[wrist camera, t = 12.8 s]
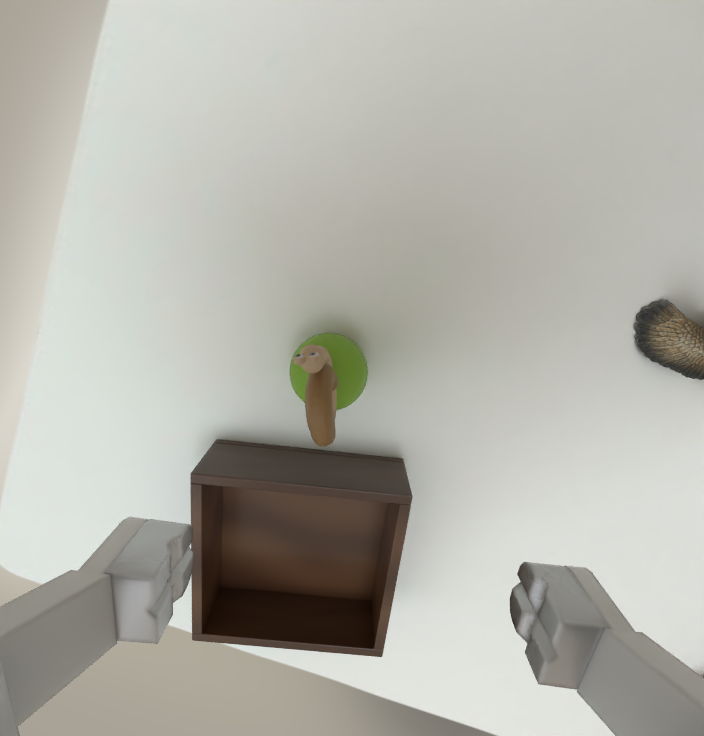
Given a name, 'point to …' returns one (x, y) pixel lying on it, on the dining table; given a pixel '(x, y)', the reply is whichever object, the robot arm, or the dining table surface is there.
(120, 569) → the robot arm
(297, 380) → the snail figurine
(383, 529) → the crate
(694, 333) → the eagle figurine
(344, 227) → the dining table surface
